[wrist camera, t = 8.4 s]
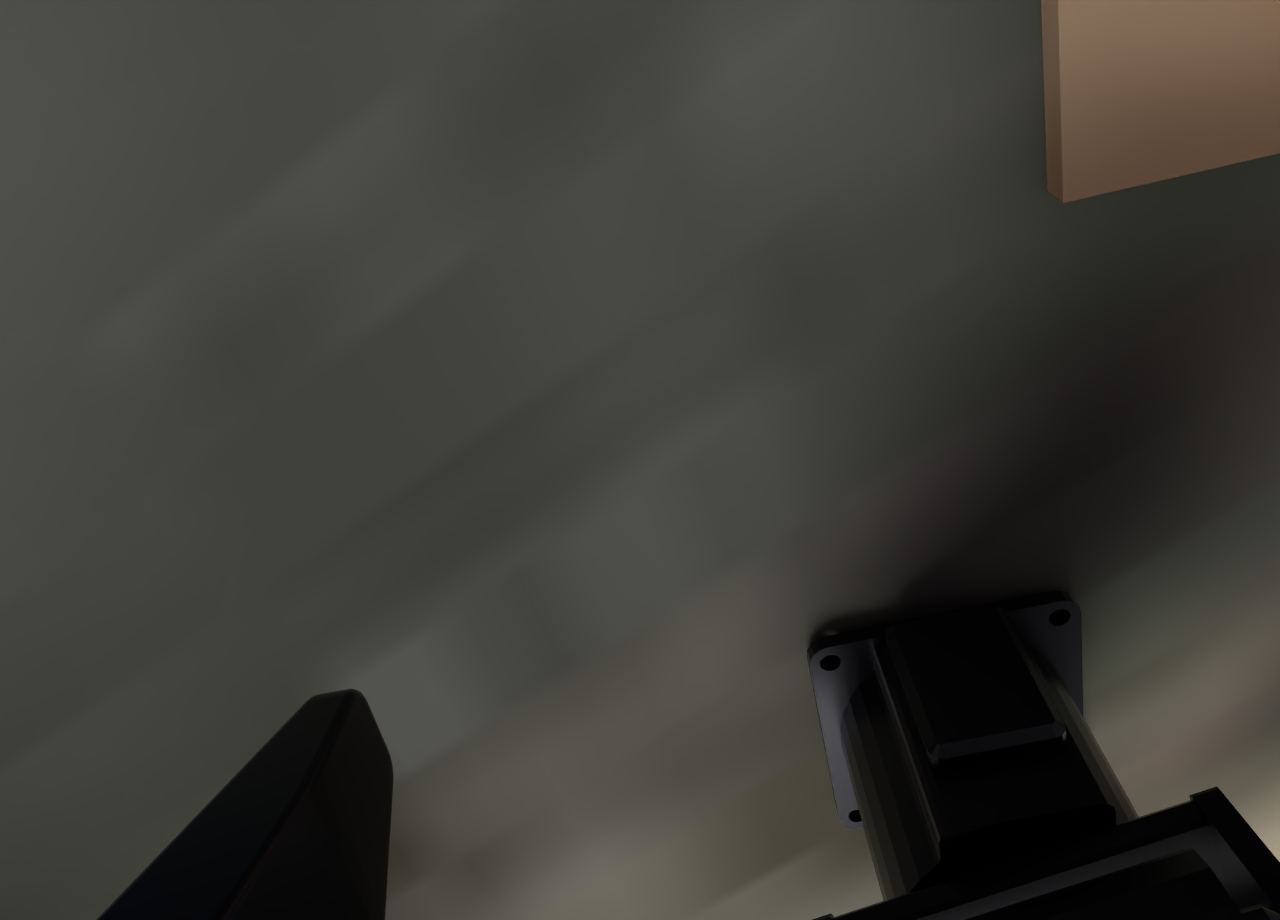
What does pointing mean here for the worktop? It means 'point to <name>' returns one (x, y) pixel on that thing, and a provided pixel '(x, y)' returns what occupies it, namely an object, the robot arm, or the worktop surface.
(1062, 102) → the flat square plate
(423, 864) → the worktop surface
